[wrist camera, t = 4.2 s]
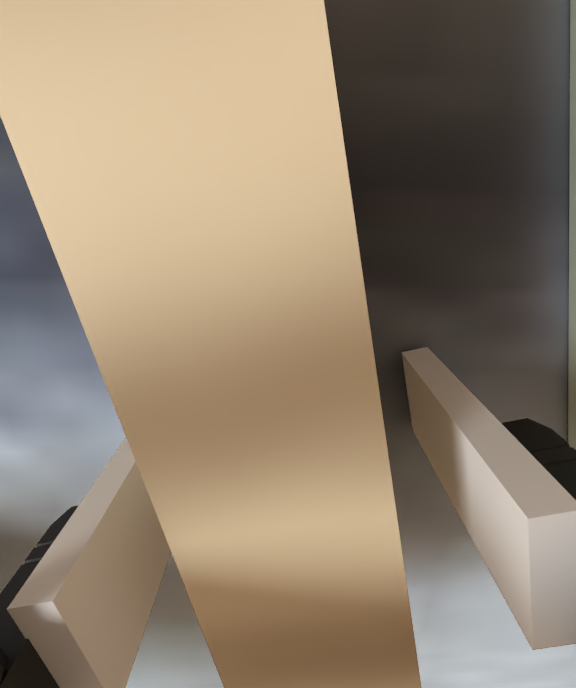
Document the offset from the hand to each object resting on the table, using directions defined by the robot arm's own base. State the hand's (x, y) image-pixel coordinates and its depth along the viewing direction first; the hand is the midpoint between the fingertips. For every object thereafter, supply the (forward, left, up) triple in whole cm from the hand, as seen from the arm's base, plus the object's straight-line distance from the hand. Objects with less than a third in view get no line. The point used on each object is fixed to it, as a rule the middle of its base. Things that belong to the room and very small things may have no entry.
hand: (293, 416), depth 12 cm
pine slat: (-3, 0, -1) cm, 4 cm away
